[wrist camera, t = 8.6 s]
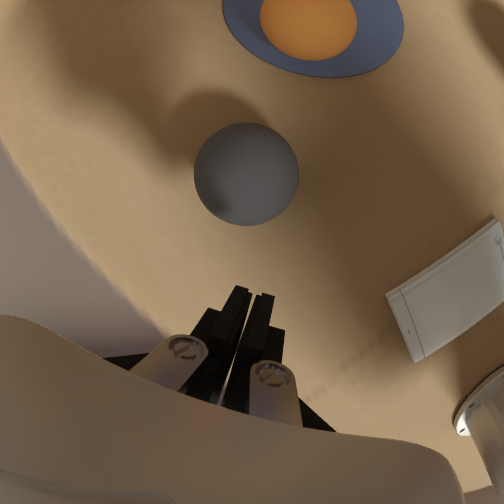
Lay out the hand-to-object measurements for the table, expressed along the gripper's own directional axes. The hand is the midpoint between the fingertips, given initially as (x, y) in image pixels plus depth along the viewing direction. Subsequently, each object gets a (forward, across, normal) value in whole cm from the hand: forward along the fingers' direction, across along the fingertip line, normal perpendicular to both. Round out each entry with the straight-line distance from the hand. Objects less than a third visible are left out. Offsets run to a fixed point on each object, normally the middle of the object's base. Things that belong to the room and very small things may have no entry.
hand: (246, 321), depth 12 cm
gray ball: (+6, +2, -6) cm, 9 cm away
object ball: (+6, +1, -17) cm, 18 cm away
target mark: (+9, +1, -20) cm, 22 cm away
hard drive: (+11, -17, -2) cm, 20 cm away
